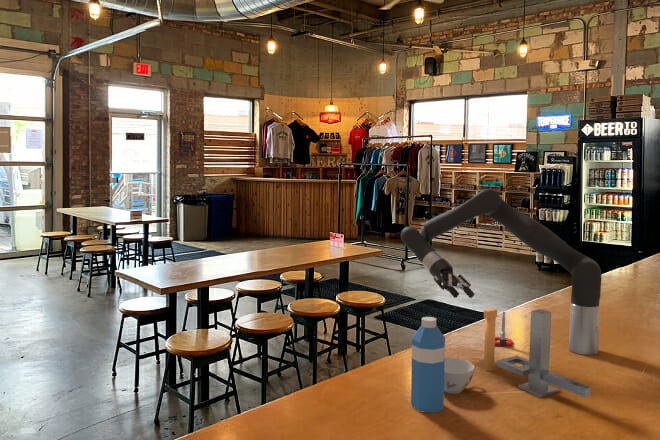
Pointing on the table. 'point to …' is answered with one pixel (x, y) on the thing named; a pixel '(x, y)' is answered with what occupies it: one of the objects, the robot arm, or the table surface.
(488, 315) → the wedge pin
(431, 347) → the water bottle
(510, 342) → the red handwheel with stem
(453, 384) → the teacup
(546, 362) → the scaffold post with crossbars
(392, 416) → the table surface
